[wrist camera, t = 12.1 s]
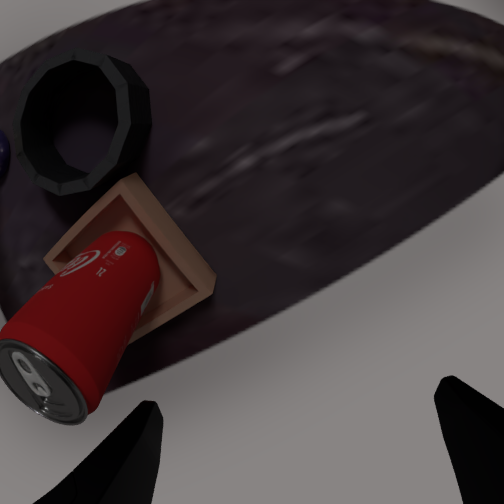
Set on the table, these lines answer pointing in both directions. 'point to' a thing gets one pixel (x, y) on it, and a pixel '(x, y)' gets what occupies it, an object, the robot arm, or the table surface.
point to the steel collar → (41, 110)
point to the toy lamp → (3, 153)
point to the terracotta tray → (157, 234)
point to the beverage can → (79, 327)
